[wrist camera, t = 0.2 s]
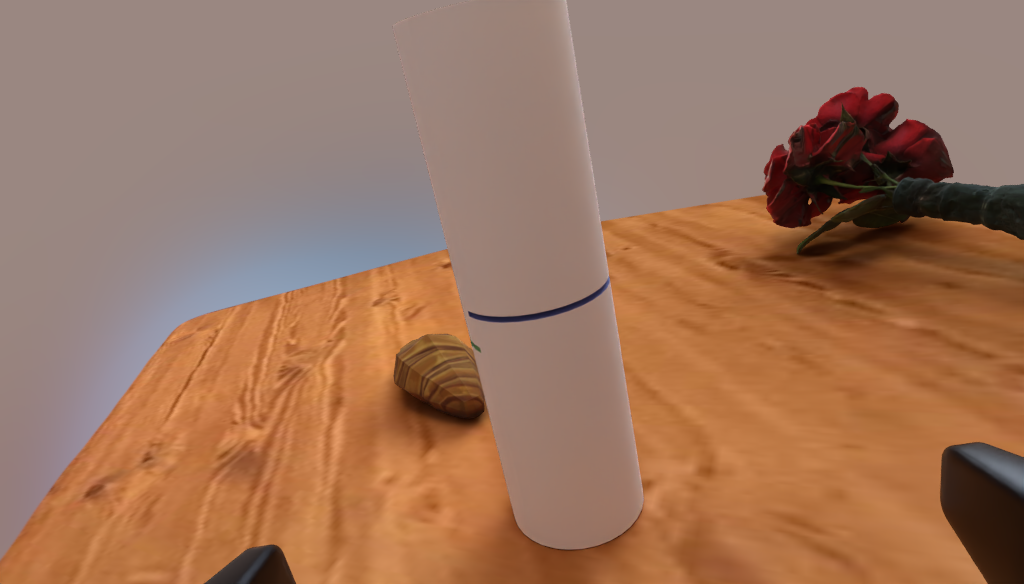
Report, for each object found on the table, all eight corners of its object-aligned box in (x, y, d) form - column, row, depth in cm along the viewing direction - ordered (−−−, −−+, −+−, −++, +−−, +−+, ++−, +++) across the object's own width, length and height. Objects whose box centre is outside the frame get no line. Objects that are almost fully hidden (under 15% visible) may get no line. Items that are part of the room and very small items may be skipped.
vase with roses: (1220, 406, 40) (777, 276, 70) (1356, 175, 41) (861, 142, 70) (1200, 296, 32) (706, 201, 61) (1373, 6, 33) (802, 49, 62)
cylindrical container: (585, 572, 29) (465, -4, 20) (487, 513, 34) (360, 36, 25) (670, 486, 33) (600, -19, 24) (571, 445, 38) (486, 17, 30)
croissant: (377, 379, 53) (360, 327, 51) (447, 350, 56) (433, 300, 54) (434, 445, 41) (416, 381, 40) (519, 404, 44) (505, 343, 42)
